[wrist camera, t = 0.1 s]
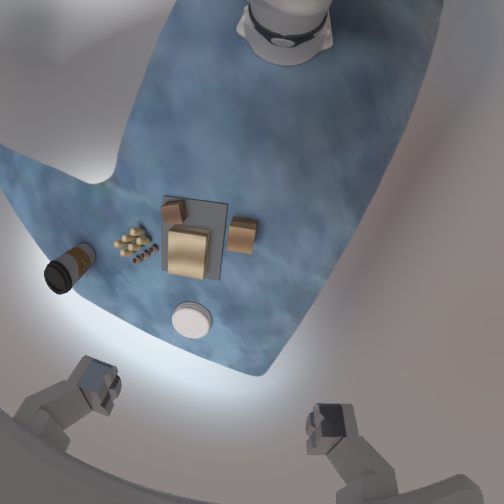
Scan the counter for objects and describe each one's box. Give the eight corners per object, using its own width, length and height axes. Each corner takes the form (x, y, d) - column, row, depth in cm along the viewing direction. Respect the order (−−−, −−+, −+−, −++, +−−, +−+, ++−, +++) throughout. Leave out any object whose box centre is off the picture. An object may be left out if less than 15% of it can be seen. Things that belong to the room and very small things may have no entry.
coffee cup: (99, 270, 65) (69, 300, 52) (77, 262, 65) (45, 290, 51) (98, 242, 62) (64, 270, 48) (74, 235, 61) (40, 260, 48)
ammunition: (111, 243, 56) (131, 271, 59) (132, 227, 54) (153, 257, 57) (121, 236, 60) (139, 262, 63) (141, 220, 59) (160, 248, 61)
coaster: (208, 334, 71) (205, 343, 68) (173, 324, 71) (169, 332, 68) (215, 307, 67) (212, 315, 64) (177, 296, 67) (173, 304, 63)
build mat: (164, 195, 55) (163, 196, 55) (227, 204, 55) (227, 204, 55) (162, 268, 63) (161, 270, 63) (219, 279, 63) (219, 280, 63)
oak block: (233, 216, 57) (229, 226, 51) (257, 220, 57) (255, 230, 51) (230, 238, 59) (226, 250, 53) (253, 242, 59) (251, 254, 53)
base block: (174, 224, 57) (168, 230, 54) (210, 229, 57) (206, 236, 54) (173, 264, 62) (168, 273, 58) (206, 270, 62) (202, 279, 58)
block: (167, 201, 55) (160, 206, 52) (184, 199, 55) (178, 204, 51) (171, 219, 57) (164, 225, 53) (188, 217, 57) (182, 223, 53)
